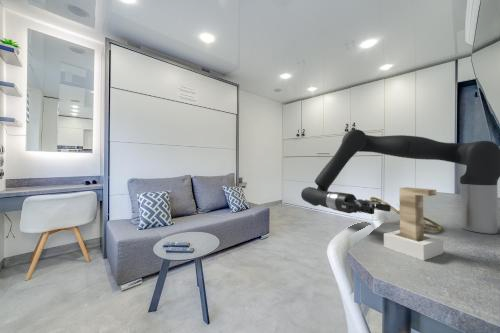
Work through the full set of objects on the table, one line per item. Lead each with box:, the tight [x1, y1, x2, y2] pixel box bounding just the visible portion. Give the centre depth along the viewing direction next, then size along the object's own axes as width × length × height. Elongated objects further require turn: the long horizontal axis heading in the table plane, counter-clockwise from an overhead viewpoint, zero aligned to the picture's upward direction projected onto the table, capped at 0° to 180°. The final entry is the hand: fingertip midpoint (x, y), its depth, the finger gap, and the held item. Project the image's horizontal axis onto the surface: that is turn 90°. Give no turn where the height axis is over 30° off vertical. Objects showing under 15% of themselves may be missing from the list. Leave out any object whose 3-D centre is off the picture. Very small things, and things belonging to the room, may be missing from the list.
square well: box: [383, 229, 444, 261], centre depth 58 cm, size 10×10×4 cm
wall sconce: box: [369, 196, 442, 232], centre depth 83 cm, size 14×10×25 cm
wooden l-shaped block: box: [398, 186, 437, 242], centre depth 57 cm, size 4×7×18 cm, turn 24°
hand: (382, 209), depth 66 cm, fingers open, 8 cm apart
